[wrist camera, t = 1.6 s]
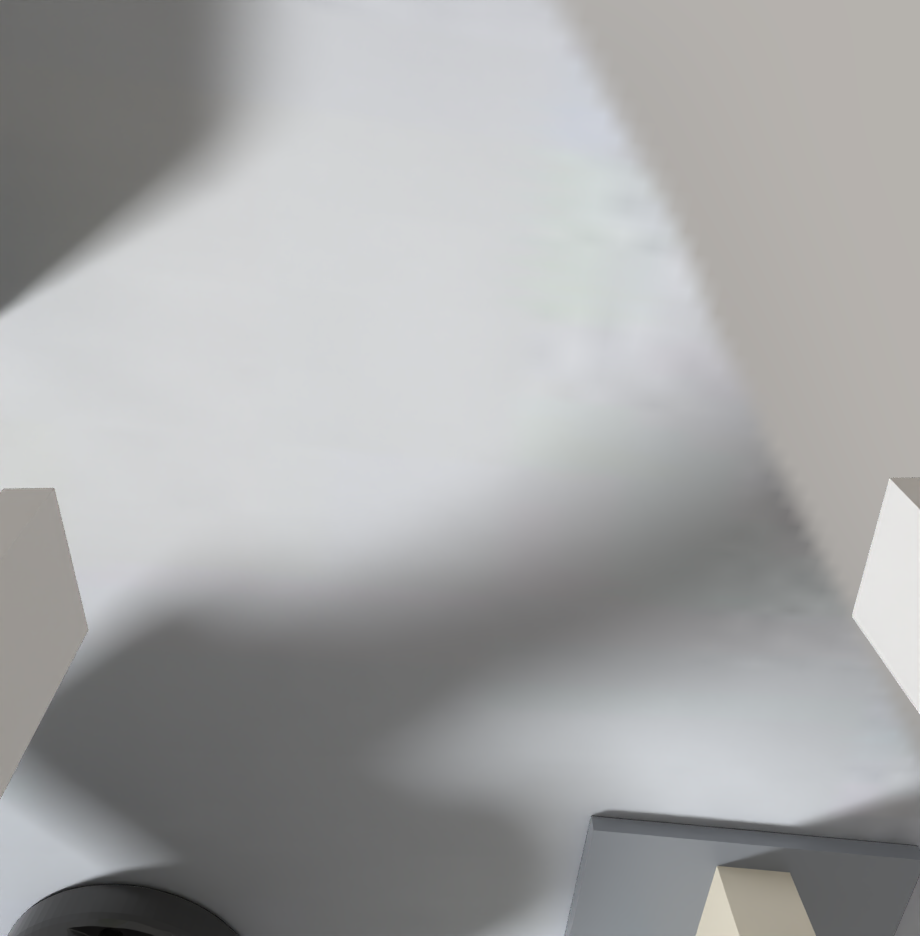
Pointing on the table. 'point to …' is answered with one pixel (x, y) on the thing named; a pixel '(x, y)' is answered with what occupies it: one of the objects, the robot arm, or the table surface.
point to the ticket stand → (736, 883)
